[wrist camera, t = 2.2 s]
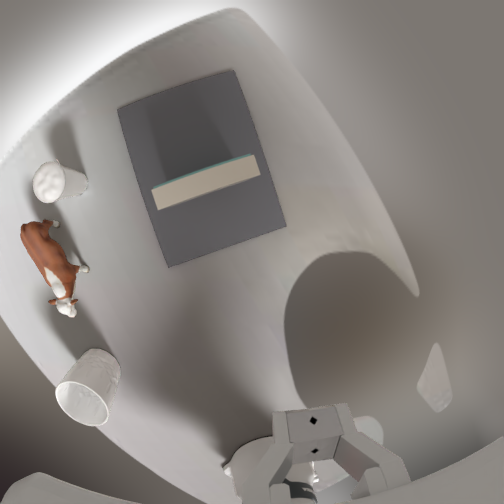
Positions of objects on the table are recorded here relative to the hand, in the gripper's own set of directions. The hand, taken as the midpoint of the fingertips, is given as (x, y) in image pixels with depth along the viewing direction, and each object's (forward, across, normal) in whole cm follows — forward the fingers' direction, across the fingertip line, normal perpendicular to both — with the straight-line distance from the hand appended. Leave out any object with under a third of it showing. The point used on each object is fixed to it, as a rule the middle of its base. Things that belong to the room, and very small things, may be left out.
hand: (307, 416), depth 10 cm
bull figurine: (+25, +27, +1) cm, 37 cm away
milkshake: (+27, +24, -9) cm, 37 cm away
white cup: (+23, +26, +18) cm, 39 cm away
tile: (+28, +7, -6) cm, 30 cm away
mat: (+29, +8, -9) cm, 31 cm away
